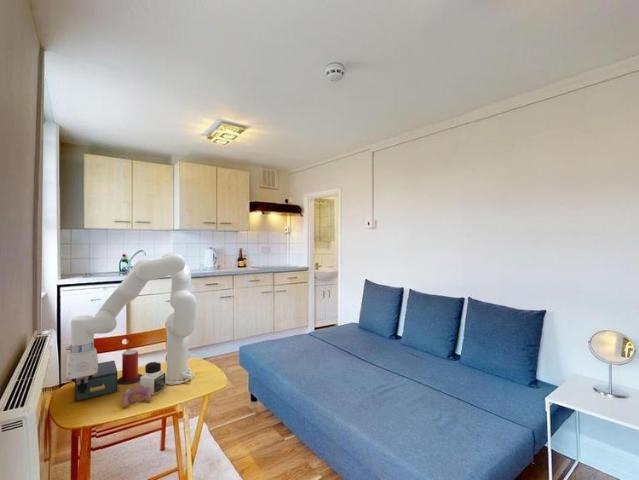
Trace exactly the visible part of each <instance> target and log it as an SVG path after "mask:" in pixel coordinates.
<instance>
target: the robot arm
mask: <svg viewBox="0 0 639 480" xmlns="http://www.w3.org/2000/svg"><path fill="white" fill-rule="evenodd" d="M168 276H170V279H171V284H170V285H171V286H170V295H169V296H170V297H169V304H170V306H171V307H172V308H173V312H172V313H170V314H169V315H168V317H167V318H166V321H165V333H166V334H165V335H166V373H165V385H168V386H169V385H170V386H171V385H172V386H176V385H180V384H185V383H187V382H188V381H190V380H193V378H194V377H195V372H192V371H191V368H190V367H189V362H190V361H189V360H190V359H189V355H190V354H189V351H190V347H189V346H190V338H189V336H190V335H191V334H193V332H194V330H195V327H196V319H197V318H196V317H197V304H198V303H197V299H196V296H195V295H194V294H193V293H191V292H192V291H191V288H192V273H191V270H190V267H189V265H188V264H187V262H186V259H185V257H184V256H182V255H181V254H179V253H175V252H167V253H165V254H163V255H162V256H161V257H158V258H154V259H140V260H138V261H136V263H135V264H134V265H133V266H132V268H131V269H130V270H129V271H128V273H127V274H126V275H125V277H124V278H123V280H122V281H121V282H120V284H119V285H118V286H117V287H116V289H115V290H114V291H113V292H112V293H111V294H110V296H109V297H108V298H107V299H106V300H105V302H103V304H102V305H101V306H100V308H99V309H98V311H97V312H96V313H95V315H94V316H93V315H89V314H87V315H79V316H75V317H73V318H72V319H71V320H70V345H68V346H65V351H69V352H68V353H67V358H66V366H65V367H66V368H65V372H66V373H65V378H64V379H65V380H64V381H65V382H73V383H74V384H75V383H76V384H77V385H78V392H79V391H80V394H82V393H85V390H87V382H88V381H89V380H90V379H91V378H92V377H94V376H96V375H98V363H99V361H98V351H97V348H96V347H95V335H97V334H98V335H100V334H101V335H102V334H108V333H112V332H113V331H114V330H115V329H116V328H117V326H118V322H117V317H118V315H119V314H120V312H121V311H122V310H123V309H124V307H126V305H128V304H129V303H131V302H132V301H134V300H135V299H137V298H138V296H140V294H141V292H142V291H143V289H144V288H145V287H146V285H147V283H148V282H149V281H154V280H157V279H161V278H164V277H168ZM80 377H84V380H83V382H81V380H80Z"/></svg>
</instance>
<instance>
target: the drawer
mask: <svg viewBox="0 0 639 480" xmlns="http://www.w3.org/2000/svg"><path fill="white" fill-rule="evenodd" d="M81 382H83V381H81ZM114 391H116V374H115V375H114V374H113V375H109V376H104V377H99V378H94V379H90V380H89V381H88V382H87V390H85V393H82V394H80V391H79V392H78V385H77V400H80V399H84V398H88V397H92V398H94V397H93V396H96V397H98V396H97V395H101V394H105V393H109V392H113V393H115V392H114ZM109 394H110V393H109ZM105 395H106V394H105ZM101 396H102V395H101ZM88 399H89V398H88ZM84 400H85V399H84ZM80 401H81V400H80Z"/></svg>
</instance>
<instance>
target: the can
mask: <svg viewBox="0 0 639 480" xmlns="http://www.w3.org/2000/svg"><path fill="white" fill-rule="evenodd" d="M138 374H139V351H138V350H137V349H128V350H125V351H123V352H122V355H121V377H122V381H124V382H128V381H133V380H135V379H137V378H138Z"/></svg>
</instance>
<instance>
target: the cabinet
mask: <svg viewBox="0 0 639 480" xmlns="http://www.w3.org/2000/svg"><path fill="white" fill-rule="evenodd" d="M118 373H119V372H118V368H117V365H116V361H115V360H114V359H113V360H109V361H103V362H98V375H96V376H94V377H92V378H91V379H94V378H99V377H104V376H109V375H113V374H114V375H115V374H116V391H114V392H109V393H105V394H101V395H97V396H93V397H88V398H84V399H80V400H77V384H76V383H75V382H74V402H79V401H83V400H87V399H92V398H96V397H101V396H104V395H109V394H113V393H116V392H118V383H117V381H118ZM80 380H81V381H83V380H84V377H80Z"/></svg>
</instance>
